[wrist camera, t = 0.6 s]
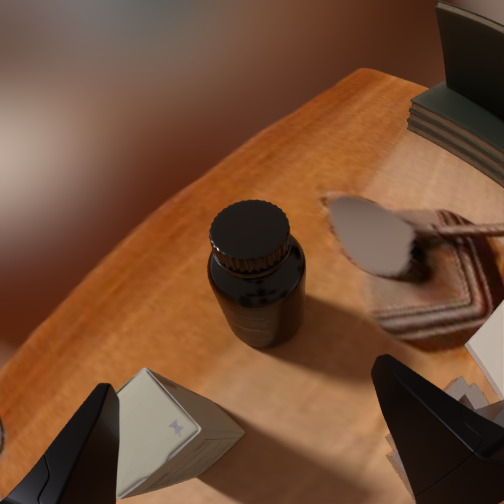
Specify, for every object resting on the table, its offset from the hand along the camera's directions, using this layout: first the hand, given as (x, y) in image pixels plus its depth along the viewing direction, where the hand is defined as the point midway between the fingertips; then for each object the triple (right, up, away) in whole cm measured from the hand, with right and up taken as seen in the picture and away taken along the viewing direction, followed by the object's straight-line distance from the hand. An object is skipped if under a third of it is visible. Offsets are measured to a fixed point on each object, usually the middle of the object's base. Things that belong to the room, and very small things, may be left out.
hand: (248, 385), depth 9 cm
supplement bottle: (+1, -2, +18) cm, 18 cm away
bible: (+41, +24, +32) cm, 58 cm away
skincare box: (-4, -11, +12) cm, 17 cm away
